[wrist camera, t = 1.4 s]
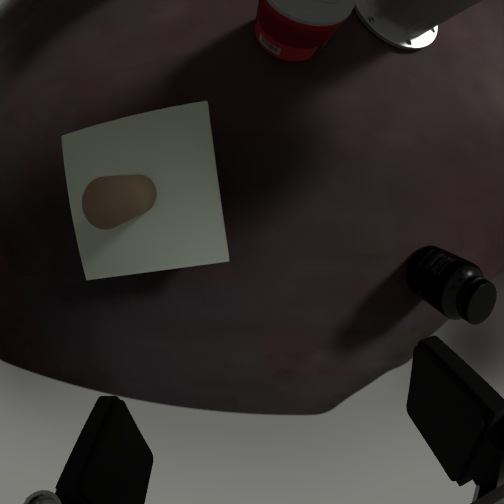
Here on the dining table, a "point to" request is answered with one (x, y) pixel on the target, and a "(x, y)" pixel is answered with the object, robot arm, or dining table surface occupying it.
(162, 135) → the lid
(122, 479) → the robot arm
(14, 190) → the dining table surface
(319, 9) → the canned food
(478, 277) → the supplement bottle
